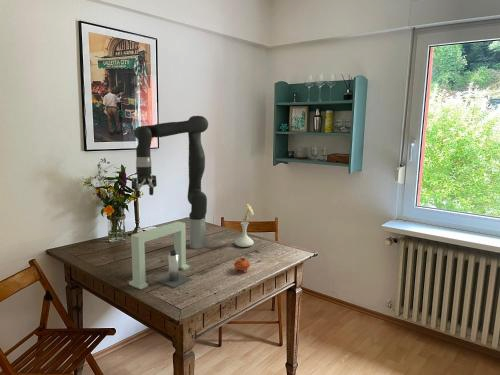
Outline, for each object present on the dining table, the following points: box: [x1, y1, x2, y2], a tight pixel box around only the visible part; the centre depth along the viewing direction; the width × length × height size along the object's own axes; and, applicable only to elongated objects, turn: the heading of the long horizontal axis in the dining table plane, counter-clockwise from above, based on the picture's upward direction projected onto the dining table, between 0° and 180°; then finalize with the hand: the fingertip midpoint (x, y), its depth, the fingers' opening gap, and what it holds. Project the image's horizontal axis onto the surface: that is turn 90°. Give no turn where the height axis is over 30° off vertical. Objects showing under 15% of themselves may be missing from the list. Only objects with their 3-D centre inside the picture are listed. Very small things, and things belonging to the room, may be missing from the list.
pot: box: [233, 257, 251, 273], centre depth 178 cm, size 8×8×7 cm
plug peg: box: [167, 249, 180, 282], centre depth 164 cm, size 4×4×14 cm
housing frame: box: [128, 221, 190, 290], centre depth 168 cm, size 8×30×23 cm, turn 145°
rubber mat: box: [156, 273, 192, 289], centre depth 165 cm, size 11×11×1 cm
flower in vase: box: [234, 203, 255, 248], centre depth 214 cm, size 13×11×25 cm
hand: (144, 196), depth 189 cm, fingers open, 8 cm apart
